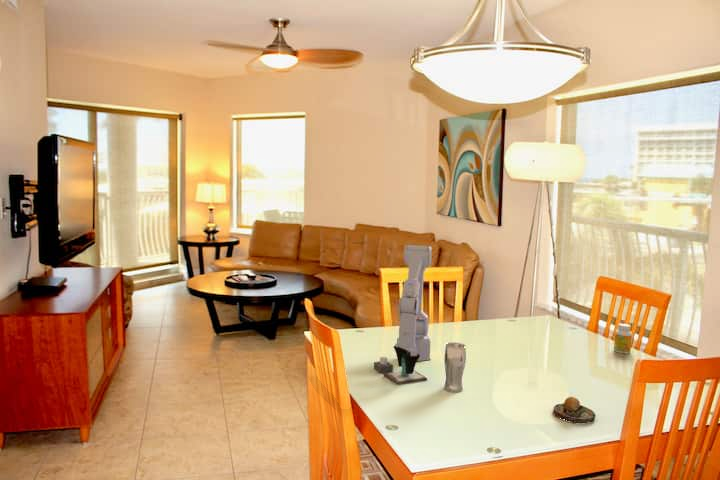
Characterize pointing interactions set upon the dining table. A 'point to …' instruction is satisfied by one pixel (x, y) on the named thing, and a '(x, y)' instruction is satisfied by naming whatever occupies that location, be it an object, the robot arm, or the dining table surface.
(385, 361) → the button cap
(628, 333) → the supplement bottle
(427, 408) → the dining table surface
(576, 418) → the dark base with ball
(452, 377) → the beer glass
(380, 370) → the button box
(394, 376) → the grey flat tray
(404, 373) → the marker
